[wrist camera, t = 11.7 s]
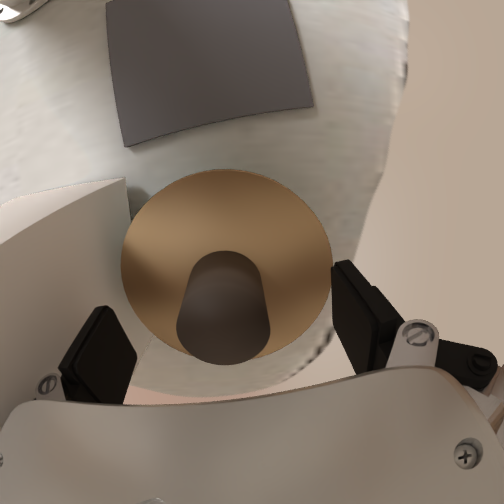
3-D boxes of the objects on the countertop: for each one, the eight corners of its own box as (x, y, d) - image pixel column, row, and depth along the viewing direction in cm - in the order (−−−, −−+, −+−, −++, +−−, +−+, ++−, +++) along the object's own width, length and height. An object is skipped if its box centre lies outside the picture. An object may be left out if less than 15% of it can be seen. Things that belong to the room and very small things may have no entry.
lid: (99, 201, 12) (48, 230, 8) (315, 150, 12) (355, 156, 8) (166, 361, 16) (153, 416, 12) (331, 332, 16) (355, 386, 12)
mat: (108, 6, 11) (105, 3, 10) (273, -33, 10) (274, -36, 10) (127, 147, 15) (124, 147, 15) (311, 107, 15) (313, 106, 15)
